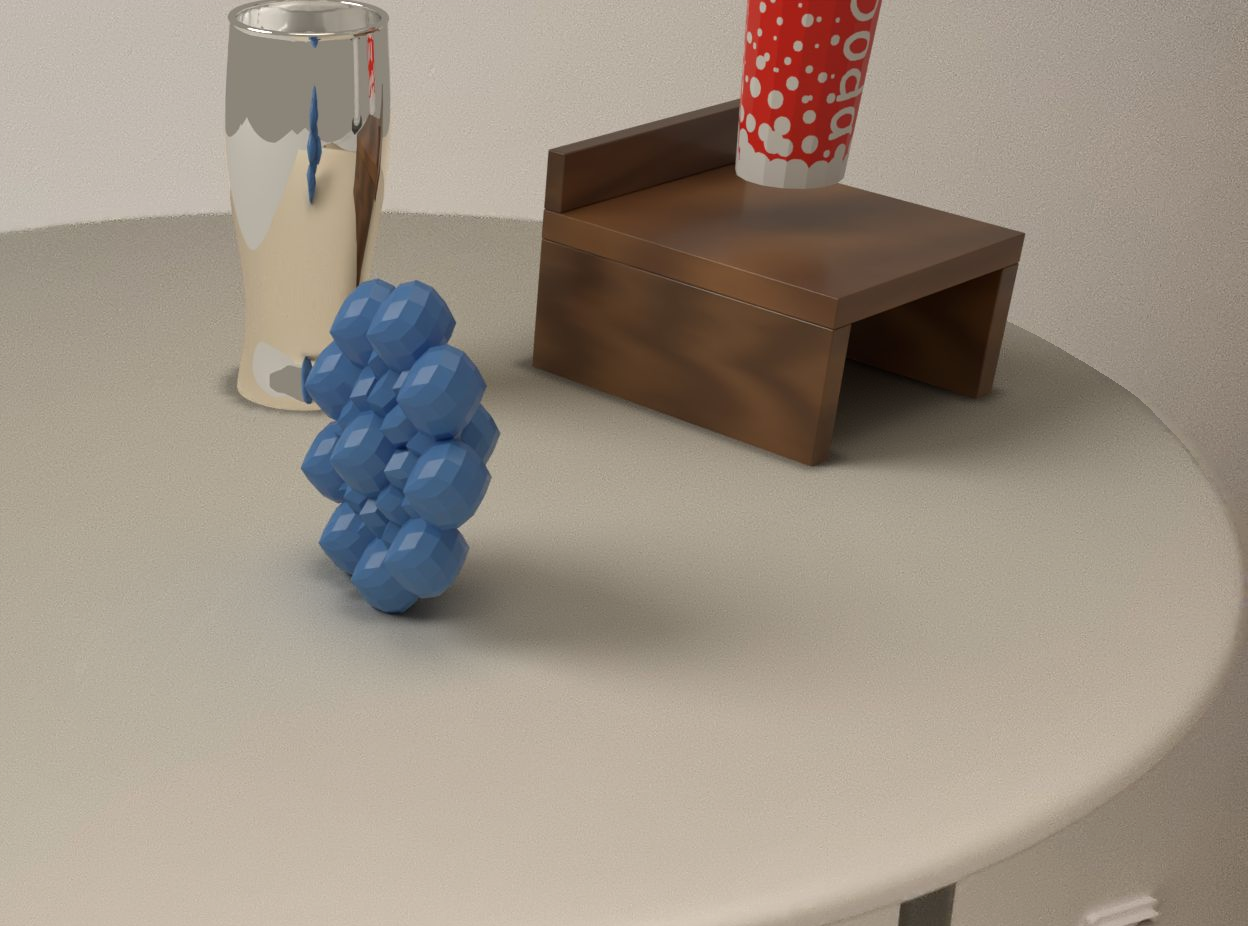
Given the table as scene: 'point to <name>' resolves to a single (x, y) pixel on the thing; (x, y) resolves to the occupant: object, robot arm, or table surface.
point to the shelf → (754, 285)
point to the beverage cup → (802, 89)
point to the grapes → (398, 443)
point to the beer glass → (303, 176)
